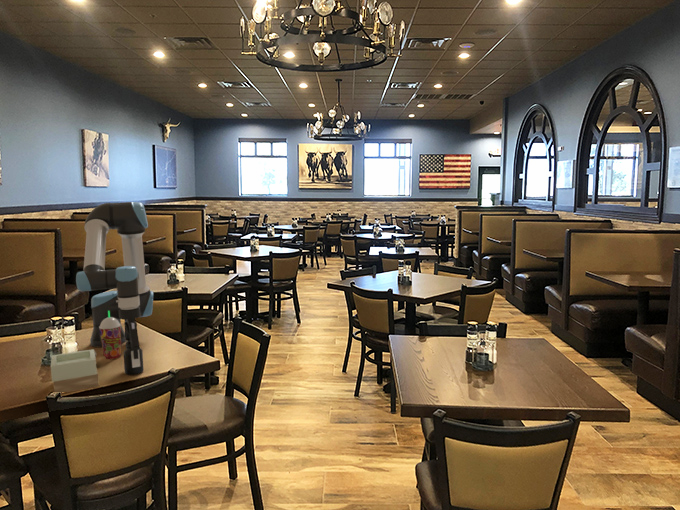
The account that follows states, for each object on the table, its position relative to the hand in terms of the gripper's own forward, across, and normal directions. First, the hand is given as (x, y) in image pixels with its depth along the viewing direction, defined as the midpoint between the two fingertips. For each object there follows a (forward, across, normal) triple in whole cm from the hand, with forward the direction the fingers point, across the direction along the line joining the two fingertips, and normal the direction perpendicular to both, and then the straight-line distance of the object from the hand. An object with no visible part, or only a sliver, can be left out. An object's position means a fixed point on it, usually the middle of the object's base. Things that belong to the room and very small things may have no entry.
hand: (133, 361), depth 199 cm
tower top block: (0, +1, -20) cm, 20 cm away
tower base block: (+5, +1, -20) cm, 21 cm away
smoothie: (+4, -25, -5) cm, 26 cm away
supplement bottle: (+4, 0, 0) cm, 4 cm away
